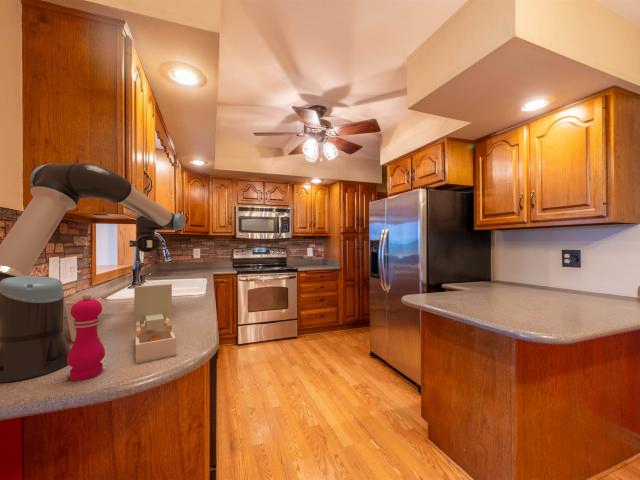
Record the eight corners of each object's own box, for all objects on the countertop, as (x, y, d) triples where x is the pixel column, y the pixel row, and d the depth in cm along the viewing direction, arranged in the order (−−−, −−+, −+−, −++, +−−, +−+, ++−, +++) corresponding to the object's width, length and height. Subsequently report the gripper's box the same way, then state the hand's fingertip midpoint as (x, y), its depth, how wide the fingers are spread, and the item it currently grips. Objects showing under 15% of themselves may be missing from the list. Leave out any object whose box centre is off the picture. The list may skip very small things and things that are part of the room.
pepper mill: (109, 372, 71) (110, 292, 71) (72, 384, 65) (72, 297, 65) (98, 365, 75) (98, 289, 75) (62, 376, 69) (63, 293, 69)
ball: (146, 337, 85) (146, 351, 84) (147, 337, 81) (147, 352, 81) (161, 334, 87) (162, 348, 86) (163, 335, 84) (163, 349, 83)
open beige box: (135, 363, 75) (136, 345, 76) (135, 352, 83) (135, 335, 83) (175, 355, 81) (175, 338, 81) (171, 345, 89) (171, 329, 89)
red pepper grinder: (85, 343, 91) (85, 303, 91) (57, 343, 91) (57, 303, 91) (108, 334, 100) (108, 297, 100) (82, 334, 100) (82, 297, 100)
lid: (134, 332, 79) (134, 290, 79) (134, 324, 86) (134, 286, 86) (174, 326, 85) (174, 287, 85) (171, 319, 92) (171, 283, 92)
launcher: (136, 355, 81) (136, 327, 81) (135, 338, 95) (135, 314, 95) (171, 348, 86) (171, 322, 86) (165, 333, 100) (165, 311, 100)
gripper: (163, 251, 128) (169, 253, 109) (128, 252, 121) (128, 254, 101) (163, 235, 128) (169, 233, 109) (128, 235, 121) (128, 233, 101)
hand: (149, 243), depth 105 cm, fingers closed
